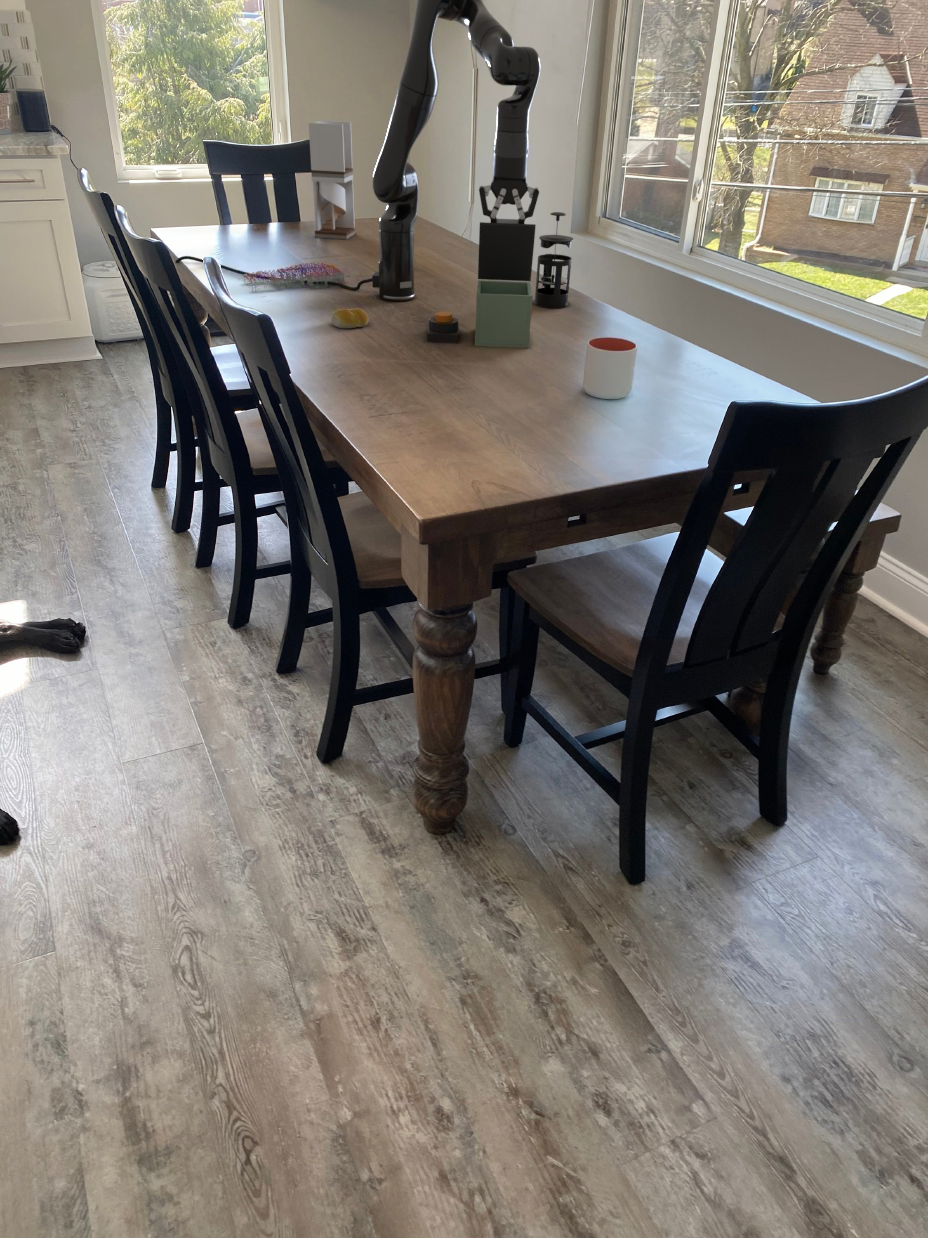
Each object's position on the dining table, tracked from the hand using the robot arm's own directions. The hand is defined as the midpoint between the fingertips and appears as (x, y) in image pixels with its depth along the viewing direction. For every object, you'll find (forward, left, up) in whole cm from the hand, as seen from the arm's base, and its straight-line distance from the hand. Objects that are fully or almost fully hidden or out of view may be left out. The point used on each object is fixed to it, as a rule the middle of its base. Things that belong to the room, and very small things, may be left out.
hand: (506, 235), depth 205 cm
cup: (+21, -41, -22) cm, 52 cm away
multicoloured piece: (-59, +41, -22) cm, 75 cm away
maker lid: (0, -2, -4) cm, 4 cm away
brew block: (-14, -5, -22) cm, 27 cm away
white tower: (-59, +115, -22) cm, 131 cm away
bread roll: (-38, +2, -22) cm, 44 cm away
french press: (+13, +31, -22) cm, 40 cm away
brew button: (-14, -5, -19) cm, 24 cm away
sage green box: (0, -5, -22) cm, 23 cm away
